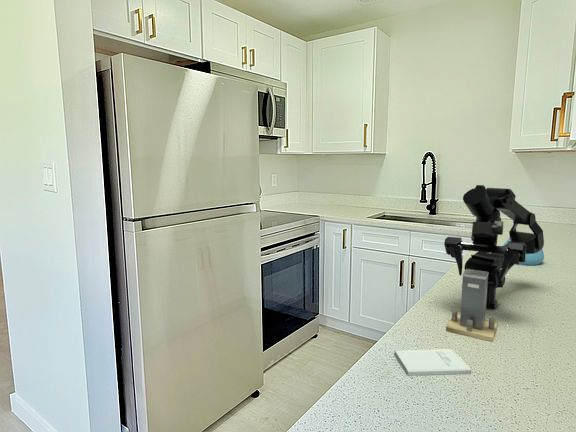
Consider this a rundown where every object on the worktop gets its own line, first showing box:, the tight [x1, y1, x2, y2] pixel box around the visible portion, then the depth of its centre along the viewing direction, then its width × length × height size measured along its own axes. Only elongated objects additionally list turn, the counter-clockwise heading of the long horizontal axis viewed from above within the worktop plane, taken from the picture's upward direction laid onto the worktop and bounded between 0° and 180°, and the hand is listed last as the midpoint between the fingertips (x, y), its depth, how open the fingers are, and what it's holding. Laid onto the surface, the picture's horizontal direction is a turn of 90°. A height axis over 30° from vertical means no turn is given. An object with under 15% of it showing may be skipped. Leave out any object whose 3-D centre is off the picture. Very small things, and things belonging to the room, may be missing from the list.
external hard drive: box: [393, 348, 472, 377], centre depth 76 cm, size 2×8×12 cm
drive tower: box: [460, 269, 489, 330], centre depth 90 cm, size 5×5×13 cm
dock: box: [445, 309, 499, 342], centre depth 91 cm, size 10×10×4 cm
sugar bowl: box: [502, 237, 545, 266], centre depth 150 cm, size 15×15×12 cm
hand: (479, 277), depth 94 cm, fingers open, 9 cm apart
